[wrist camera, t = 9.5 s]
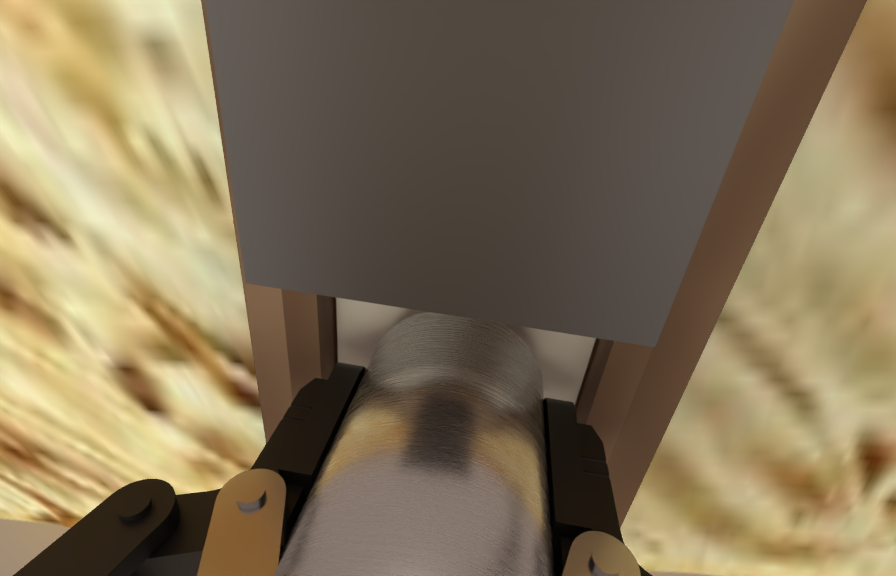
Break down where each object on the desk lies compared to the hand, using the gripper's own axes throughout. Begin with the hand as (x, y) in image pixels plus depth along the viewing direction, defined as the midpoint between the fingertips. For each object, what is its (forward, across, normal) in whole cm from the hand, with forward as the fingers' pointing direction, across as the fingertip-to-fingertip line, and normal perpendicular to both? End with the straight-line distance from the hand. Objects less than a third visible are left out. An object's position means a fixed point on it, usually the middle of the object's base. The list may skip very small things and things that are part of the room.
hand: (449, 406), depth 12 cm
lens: (+1, 0, 0) cm, 1 cm away
